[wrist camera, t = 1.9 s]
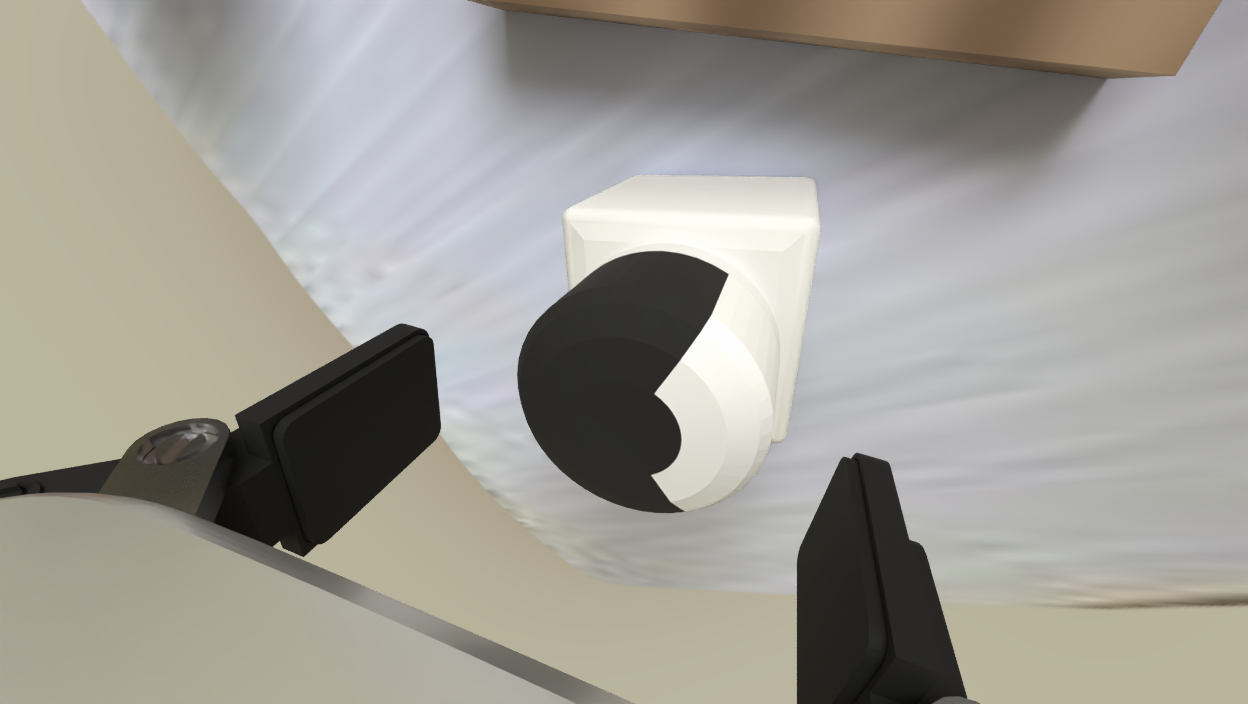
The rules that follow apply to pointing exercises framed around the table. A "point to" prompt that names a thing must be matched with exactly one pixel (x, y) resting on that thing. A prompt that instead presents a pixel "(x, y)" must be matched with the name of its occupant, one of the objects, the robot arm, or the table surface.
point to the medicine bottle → (673, 336)
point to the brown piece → (937, 28)
